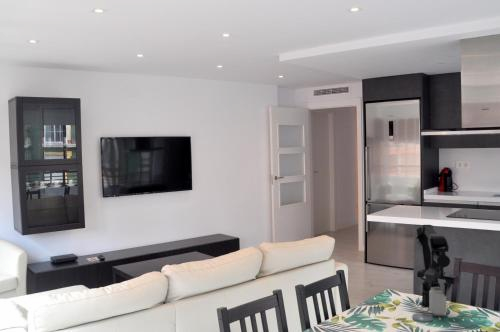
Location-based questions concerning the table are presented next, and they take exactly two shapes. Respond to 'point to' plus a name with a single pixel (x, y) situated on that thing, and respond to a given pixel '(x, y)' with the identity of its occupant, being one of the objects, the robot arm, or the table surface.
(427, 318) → the coaster
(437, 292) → the can
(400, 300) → the table surface
